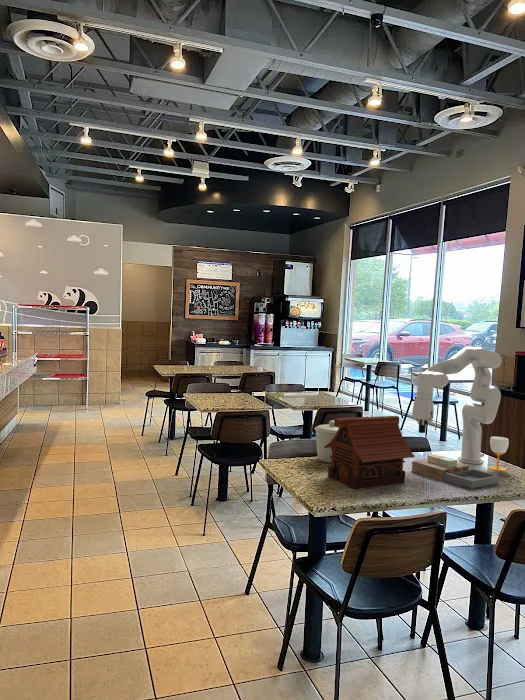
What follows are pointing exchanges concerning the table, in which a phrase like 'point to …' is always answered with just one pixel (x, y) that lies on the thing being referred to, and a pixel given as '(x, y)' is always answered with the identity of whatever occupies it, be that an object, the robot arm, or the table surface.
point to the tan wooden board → (436, 468)
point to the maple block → (434, 458)
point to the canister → (325, 440)
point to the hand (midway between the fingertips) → (421, 432)
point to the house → (368, 452)
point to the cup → (498, 450)
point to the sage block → (447, 462)
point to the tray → (471, 479)
